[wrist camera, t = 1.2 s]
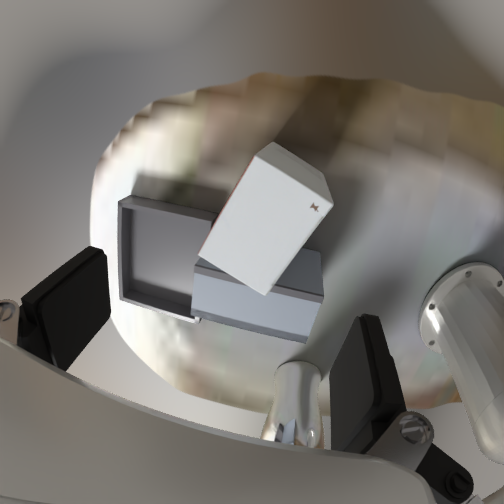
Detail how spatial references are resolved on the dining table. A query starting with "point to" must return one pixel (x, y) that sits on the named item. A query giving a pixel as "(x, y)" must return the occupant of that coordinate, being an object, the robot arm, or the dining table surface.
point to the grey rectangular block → (262, 298)
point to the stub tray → (160, 254)
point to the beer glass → (296, 407)
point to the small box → (267, 218)
